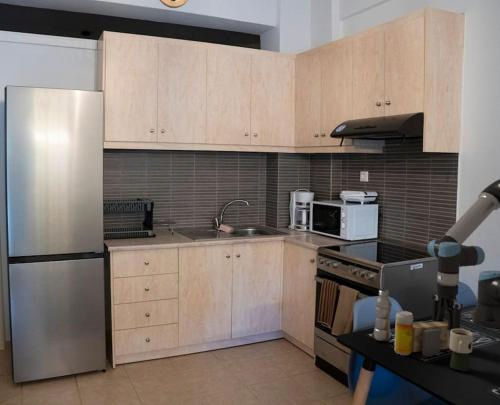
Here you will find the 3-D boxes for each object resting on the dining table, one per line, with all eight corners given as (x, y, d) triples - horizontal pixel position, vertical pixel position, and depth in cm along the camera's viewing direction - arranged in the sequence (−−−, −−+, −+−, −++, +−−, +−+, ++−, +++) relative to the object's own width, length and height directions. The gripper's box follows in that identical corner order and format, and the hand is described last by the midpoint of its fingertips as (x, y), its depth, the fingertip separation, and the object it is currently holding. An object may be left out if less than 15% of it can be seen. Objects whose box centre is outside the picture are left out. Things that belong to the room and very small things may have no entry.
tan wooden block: (447, 343, 190) (449, 320, 189) (456, 347, 185) (458, 324, 185) (405, 347, 183) (407, 324, 182) (413, 352, 178) (415, 328, 178)
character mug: (471, 377, 160) (473, 339, 159) (447, 373, 163) (449, 335, 161) (470, 364, 170) (472, 328, 169) (448, 361, 173) (450, 325, 171)
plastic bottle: (393, 340, 192) (395, 290, 190) (385, 344, 187) (387, 293, 185) (378, 335, 196) (380, 287, 195) (370, 340, 191) (372, 290, 190)
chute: (419, 342, 190) (420, 320, 189) (441, 354, 178) (442, 330, 177) (404, 344, 187) (405, 322, 186) (426, 356, 176) (427, 332, 175)
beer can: (412, 356, 176) (414, 316, 175) (395, 355, 177) (397, 315, 176) (410, 350, 182) (411, 311, 181) (393, 348, 183) (395, 310, 182)
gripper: (423, 278, 191) (421, 336, 193) (457, 290, 174) (453, 352, 177) (439, 277, 193) (436, 334, 196) (473, 288, 177) (469, 350, 179)
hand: (444, 342), depth 186 cm, fingers closed on tan wooden block, 4 cm apart
